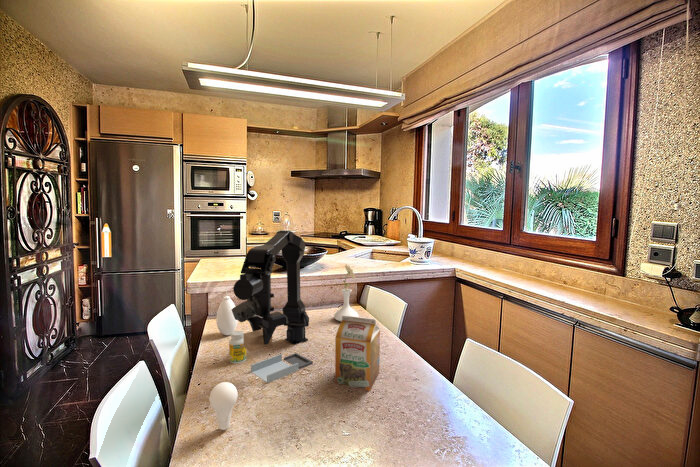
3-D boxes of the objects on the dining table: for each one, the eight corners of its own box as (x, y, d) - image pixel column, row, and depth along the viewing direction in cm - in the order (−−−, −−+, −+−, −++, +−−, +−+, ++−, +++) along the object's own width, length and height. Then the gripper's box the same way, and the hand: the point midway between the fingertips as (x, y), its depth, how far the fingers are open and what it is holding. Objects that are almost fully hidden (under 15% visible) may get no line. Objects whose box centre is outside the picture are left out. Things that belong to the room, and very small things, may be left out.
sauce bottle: (242, 332, 138) (241, 289, 136) (227, 339, 131) (226, 293, 129) (227, 329, 141) (226, 287, 140) (212, 336, 134) (211, 291, 133)
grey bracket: (281, 361, 114) (280, 353, 113) (298, 371, 107) (298, 363, 107) (251, 372, 106) (251, 364, 106) (267, 384, 99) (267, 375, 99)
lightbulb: (214, 421, 82) (213, 377, 81) (241, 420, 82) (240, 376, 82) (206, 438, 76) (205, 391, 75) (234, 437, 76) (233, 390, 75)
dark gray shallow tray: (296, 355, 118) (296, 352, 118) (312, 364, 111) (312, 361, 111) (283, 360, 114) (283, 357, 114) (300, 369, 108) (300, 366, 108)
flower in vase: (358, 324, 149) (359, 267, 147) (332, 324, 149) (333, 267, 147) (358, 314, 162) (359, 262, 160) (334, 314, 162) (334, 262, 160)
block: (265, 340, 106) (265, 328, 105) (272, 345, 102) (272, 332, 102) (243, 346, 101) (243, 333, 101) (250, 351, 98) (249, 338, 97)
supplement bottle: (243, 355, 117) (243, 328, 116) (248, 361, 113) (248, 333, 112) (227, 359, 114) (227, 331, 114) (231, 366, 110) (231, 337, 109)
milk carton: (379, 373, 106) (380, 313, 104) (370, 390, 96) (370, 325, 94) (347, 367, 109) (347, 310, 108) (335, 384, 100) (335, 320, 98)
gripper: (220, 289, 102) (221, 340, 103) (252, 302, 89) (253, 360, 90) (254, 283, 110) (254, 330, 111) (288, 294, 97) (288, 348, 98)
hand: (261, 341), depth 102 cm, fingers closed on block, 5 cm apart
